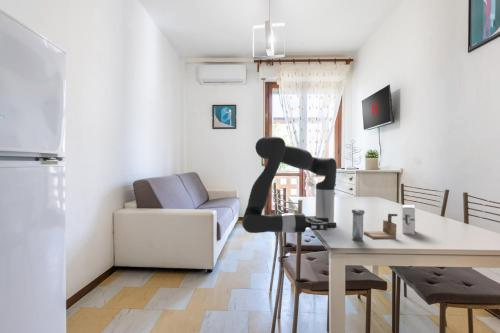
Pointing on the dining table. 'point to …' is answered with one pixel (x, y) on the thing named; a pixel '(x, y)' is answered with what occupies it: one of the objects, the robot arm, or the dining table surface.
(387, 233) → the block
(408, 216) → the ink box
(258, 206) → the robot arm
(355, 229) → the steel pin
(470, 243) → the dining table surface
